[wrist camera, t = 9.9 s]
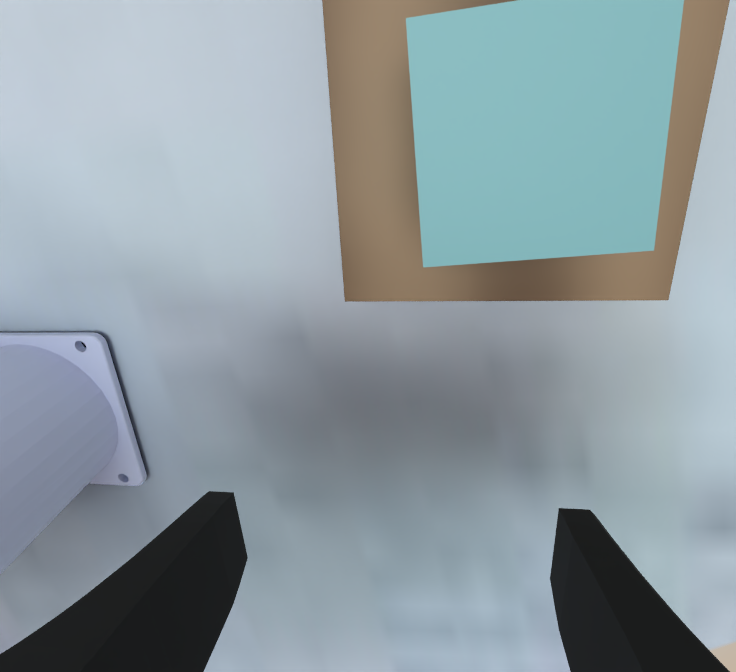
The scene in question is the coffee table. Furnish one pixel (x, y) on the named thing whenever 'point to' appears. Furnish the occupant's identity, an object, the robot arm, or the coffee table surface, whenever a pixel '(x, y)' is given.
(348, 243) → the walnut block
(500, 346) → the coffee table surface
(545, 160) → the teal block
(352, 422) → the coffee table surface
